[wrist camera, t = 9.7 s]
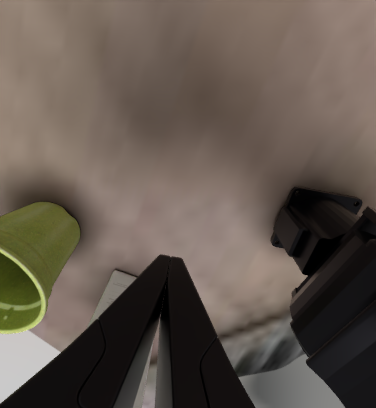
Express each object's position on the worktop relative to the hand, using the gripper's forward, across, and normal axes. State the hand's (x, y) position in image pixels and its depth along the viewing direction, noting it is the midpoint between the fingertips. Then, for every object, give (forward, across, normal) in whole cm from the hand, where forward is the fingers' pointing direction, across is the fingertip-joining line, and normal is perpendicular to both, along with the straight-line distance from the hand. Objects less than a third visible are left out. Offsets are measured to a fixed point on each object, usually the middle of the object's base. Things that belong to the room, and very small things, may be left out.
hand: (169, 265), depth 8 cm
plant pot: (+13, +13, +9) cm, 21 cm away
